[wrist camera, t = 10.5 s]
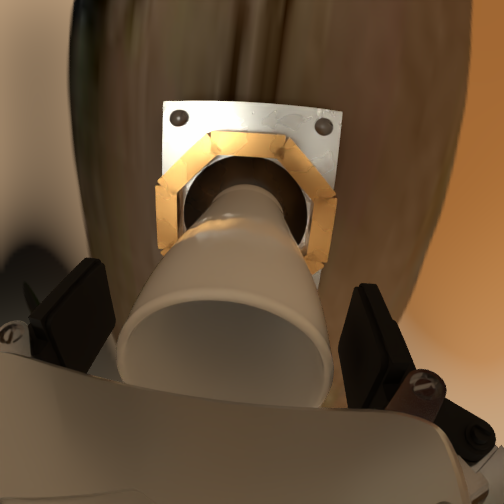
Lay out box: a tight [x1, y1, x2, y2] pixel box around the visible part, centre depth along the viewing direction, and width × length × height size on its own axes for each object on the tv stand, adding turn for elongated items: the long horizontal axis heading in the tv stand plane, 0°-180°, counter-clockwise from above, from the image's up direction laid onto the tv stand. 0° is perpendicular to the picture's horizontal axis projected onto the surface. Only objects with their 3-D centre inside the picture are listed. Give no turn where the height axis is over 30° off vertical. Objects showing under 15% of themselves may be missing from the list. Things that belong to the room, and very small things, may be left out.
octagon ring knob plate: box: [155, 101, 342, 291], centre depth 24 cm, size 16×12×6 cm
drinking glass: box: [116, 184, 334, 408], centre depth 16 cm, size 7×7×15 cm
